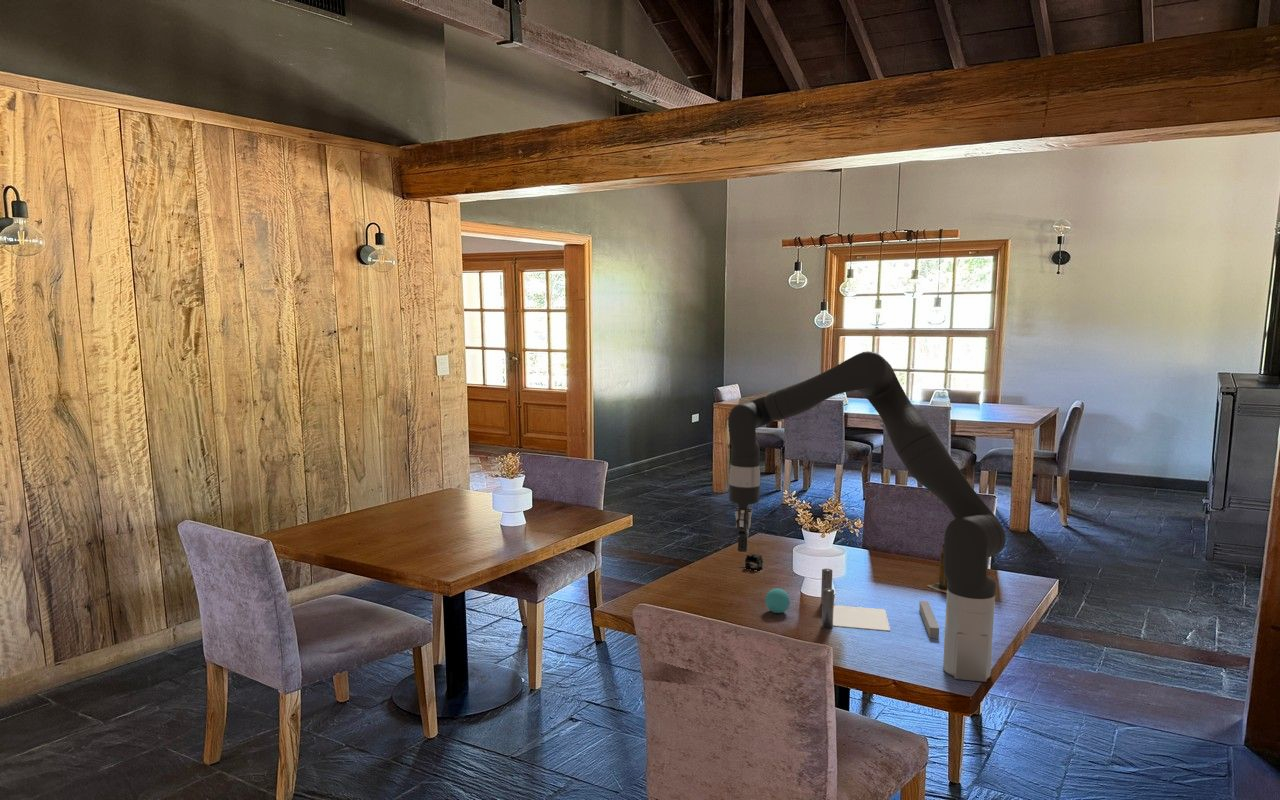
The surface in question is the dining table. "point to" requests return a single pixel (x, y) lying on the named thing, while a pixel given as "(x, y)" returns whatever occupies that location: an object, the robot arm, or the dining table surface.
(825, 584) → the post back
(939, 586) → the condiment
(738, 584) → the dining table surface
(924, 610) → the wall
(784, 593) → the ball
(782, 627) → the dining table surface
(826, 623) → the post front
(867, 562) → the dining table surface
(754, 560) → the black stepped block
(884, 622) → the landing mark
